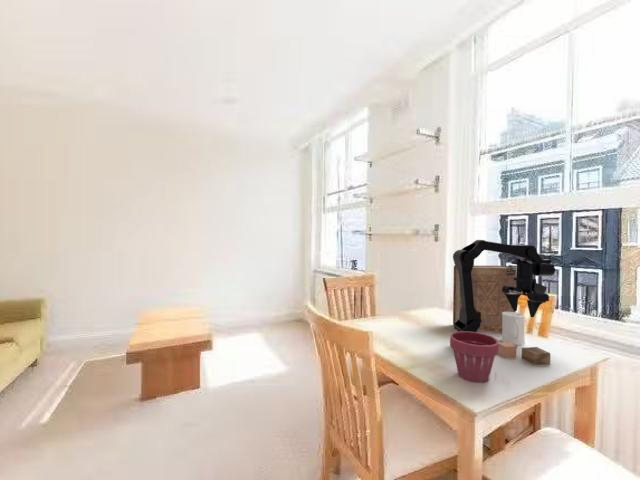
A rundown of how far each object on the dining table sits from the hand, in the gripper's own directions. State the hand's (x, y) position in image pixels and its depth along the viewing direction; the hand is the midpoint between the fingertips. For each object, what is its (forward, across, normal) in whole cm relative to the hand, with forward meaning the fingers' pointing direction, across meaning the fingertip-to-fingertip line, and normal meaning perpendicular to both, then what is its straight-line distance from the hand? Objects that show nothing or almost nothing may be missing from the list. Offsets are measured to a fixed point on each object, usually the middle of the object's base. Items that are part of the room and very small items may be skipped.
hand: (523, 314), depth 129 cm
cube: (+14, -8, +13) cm, 20 cm away
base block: (+13, -15, +7) cm, 21 cm away
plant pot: (+14, -21, +35) cm, 43 cm away
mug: (+14, +4, 0) cm, 14 cm away
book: (+14, +25, 0) cm, 29 cm away
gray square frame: (+14, -15, +7) cm, 21 cm away
